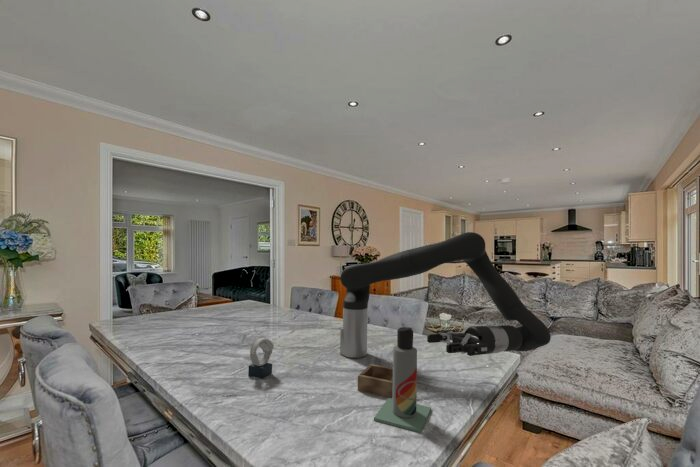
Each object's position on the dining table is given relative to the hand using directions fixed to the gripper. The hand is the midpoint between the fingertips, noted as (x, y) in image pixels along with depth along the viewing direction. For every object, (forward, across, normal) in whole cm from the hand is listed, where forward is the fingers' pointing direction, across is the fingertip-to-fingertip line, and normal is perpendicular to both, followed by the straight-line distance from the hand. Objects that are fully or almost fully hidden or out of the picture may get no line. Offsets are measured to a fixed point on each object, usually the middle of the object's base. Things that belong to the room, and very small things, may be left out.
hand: (437, 343), depth 84 cm
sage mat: (+11, +3, +15) cm, 19 cm away
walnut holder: (+10, -12, +15) cm, 22 cm away
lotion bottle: (+11, +3, +15) cm, 19 cm away
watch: (+42, -31, +16) cm, 55 cm away
